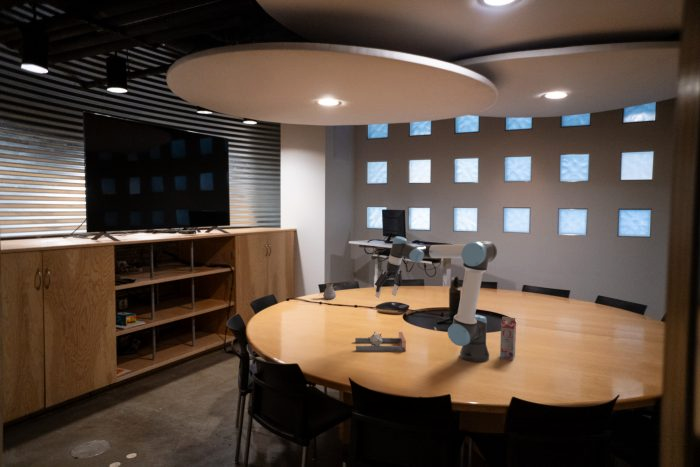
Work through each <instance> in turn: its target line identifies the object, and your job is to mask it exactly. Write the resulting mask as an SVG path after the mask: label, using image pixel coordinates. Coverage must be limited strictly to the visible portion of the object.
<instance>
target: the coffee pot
mask: <svg viewBox="0 0 700 467" xmlns="http://www.w3.org/2000/svg"><path fill="white" fill-rule="evenodd" d="M325 285H326V288H325V289H324V291H323V295H322V297H323V298H324V299H325V300H334V299H335V298H336V296H337V294H336V292H335V290H334V289H335V288H337V287H340V286H343V285H344V286H346V283H345V282H343V283H339V284H337V285H336V286H333V285H334V283H330V282H329V283H326V284H325Z"/></svg>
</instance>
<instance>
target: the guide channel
mask: <svg viewBox="0 0 700 467" xmlns="http://www.w3.org/2000/svg"><path fill="white" fill-rule="evenodd" d="M382 339H383V341H384V342H382V343H381V344H399V345H379V346H373V345H372V346H371V345H355V352H406V351H407V348H406V347H407V346H406V345H407V343H406V342H407V340H406V338H405V335H404V334H403V332H402V331H398V337H382ZM354 340H355V341H354V343H355V344H371V341H370V337H369V338H368V337H355V339H354Z"/></svg>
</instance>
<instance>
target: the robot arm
mask: <svg viewBox="0 0 700 467" xmlns="http://www.w3.org/2000/svg"><path fill="white" fill-rule="evenodd" d="M407 239H408V238H407ZM407 239H406V238H405V237H403V236H399V235H398V236H397V235H396V236H394V238H393V240H392V244H391V249H390V252H389V257H388V261H387V263H386V270H385V269H382V270H381V273H380V274H379V277H378V278H377V279H376V281H375V283H374V285H375V286H376V288H375V295H374V296H375V297H376V298H377V299H379V298H380V296H381V292H382V286H383V285H384V284H385V283H386V282H387V281H388V280H389V279H393V281H394V285H393V288H392V291H391V295H392V296H394V297H396V296H397V294H398V293H397V292H398V290H399V288H400V287H401V285H402V284H403V279H402V273H403V272H402V269H401V264H402V262H403V258H406V259H407V260H409V261H412V262H414V263H418V264H419V263H420V262H422V261H423V259H462V262H463V264H462V266H463V268H464V269H465V270H464V271H465V272H464V277H463V281H462V287H461V292H460V293H461V294H460V300H459V304H458V309H457V313H456V314H455V315H454V316H453V319H452V324H450V326H449V327H448V328H447V336H448V338H449V341H451V343H452V344H454V345H456V346H459V347H461V348H460V351H459V353H460V354H459V357H460V358H461V359H463V360H465V361H468V362H469V361H470V362H474V363H482V362H488V361H489V360H490V353H489V350H488V345H487V324H488V321H487V316H485V315H484V316H483V315H480V314H476V311H477V308H478V303H479V302H478V300H479V296H480V291H481V285H482V280H483V274H484V273H485V272H486V271H487V269H488V265H489V264H490V263H491V262H492V261H494V260H495V259H496V257H497V255H498V249H497V246H496V245H495V244H494V243H493V242H492V241H490V240H485V239H484V240H479V241H478V240H475V241H471V242H468V243H462V244H459V243H458V244H424V245H416V246H414V245H411V244H409V243H408V240H407ZM400 269H401V270H400Z"/></svg>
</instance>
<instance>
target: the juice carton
mask: <svg viewBox="0 0 700 467" xmlns="http://www.w3.org/2000/svg"><path fill="white" fill-rule="evenodd" d="M516 335H517V322H516V318H515V317H510V316H502V318H501V322H500V348H499V349H500V351H499V355H500V356H499V358H500V359H501V360H502V359H503V360H509V361H510V360H511V361H514V360H515V358H516V341H517V339H516V337H517V336H516Z"/></svg>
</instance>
